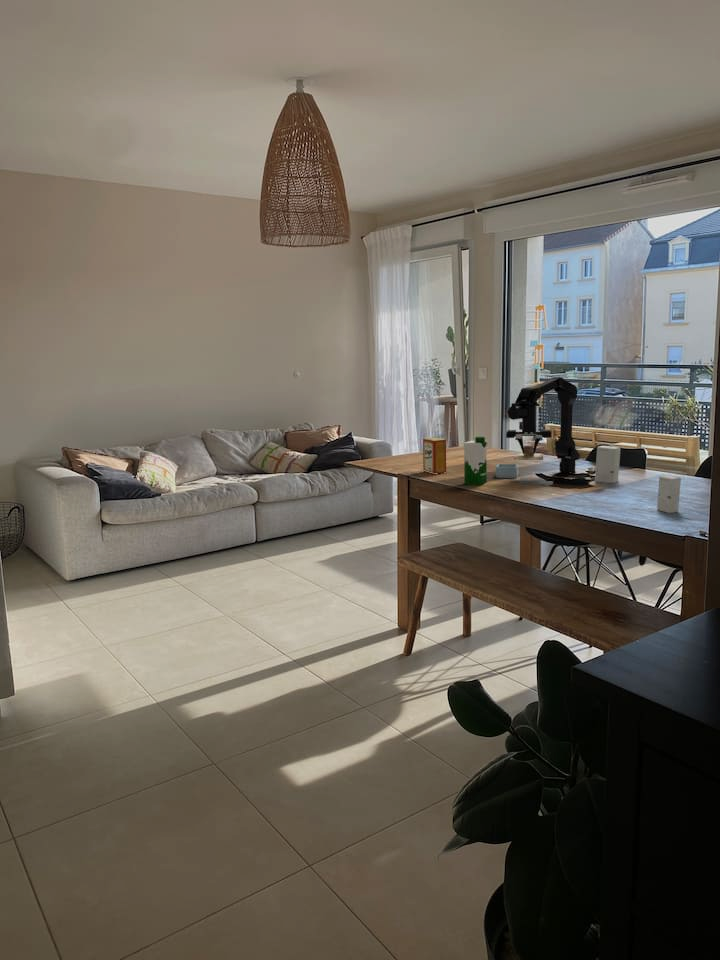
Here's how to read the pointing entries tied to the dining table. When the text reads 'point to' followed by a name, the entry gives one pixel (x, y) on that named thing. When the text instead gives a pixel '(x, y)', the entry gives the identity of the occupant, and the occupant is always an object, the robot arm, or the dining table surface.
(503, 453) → the dining table surface
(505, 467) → the light blue storage bin
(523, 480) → the mat
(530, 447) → the lid
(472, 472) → the milk carton
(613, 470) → the skincare box
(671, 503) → the skincare box
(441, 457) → the baking soda box
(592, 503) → the dining table surface
